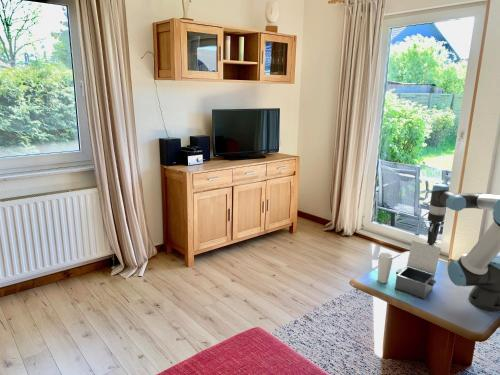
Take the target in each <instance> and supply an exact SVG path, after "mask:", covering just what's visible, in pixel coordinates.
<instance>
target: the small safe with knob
mask: <svg viewBox="0 0 500 375" xmlns="http://www.w3.org/2000/svg"><path fill="white" fill-rule="evenodd" d="M395 274H396V278H395V286H394V290H395V291H398V292H401V293H404V294H406V295H409V296H412V297H414V298H418V299H420V300H423V301H424V300H425V299H426V298H427V296H428V295H429V294H431V293H432V291H433V289H434V286H435V284H436V282H437V280H435V277H436V276H435V275H436V274H435V275H434V274H431V273H427V272H424V271H421V270H418V269H415V268H412V267H409V266H405V267H404V268H403V269H402V268H399V269H398V270H397V271H396V272H395Z"/></svg>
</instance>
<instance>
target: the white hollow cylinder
mask: <svg viewBox="0 0 500 375" xmlns="http://www.w3.org/2000/svg"><path fill="white" fill-rule="evenodd" d="M393 258H394V256H393V254H391V253H389V252H380V253H379V255H378V259H377V260H378V261H377V262H378V263H377V264H378V265H377V268H378V269H377V281H378V282H379V283H381V284H387V283H388V282H389V278H390V274H391V270H392V266H393Z"/></svg>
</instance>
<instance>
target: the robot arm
mask: <svg viewBox="0 0 500 375" xmlns="http://www.w3.org/2000/svg"><path fill="white" fill-rule="evenodd" d="M428 208H429V210H428V214H427V215H428V216H427V219H428V220H429V221H430V223H429V227H427V229H428V230H427V242H426V244H428V245H431V246H435V244H437V243H438V242H437V239H438V235H439V230H440V226H441V223H442V222H444V218H445V215H446V210H447V209H446V208H448V209H449V210H452V211H455V212H460V211H462V210H464V209H477V210H486V211H491V212H492V220H493V222H492V224H490V226H489V227H488V228H487V230H485V232H484V233H483V235H481V237H480V238H479V240H478V241H477V242H476V243H475V245H474V246H473V247H472V248H471V250H470V251H469V252H466V253H463V254H461V256H460V257H459V258H458V259H457V260H455V259H453V260H450V261H449V262H448V263H447V269H446V270H447V275H448V278H449V280H450V281H451V283H452V284H453V285H455V286H457V287H472V289H471V290H470V292H469V293H468V298H467V299H468V301H469V302H470V303H471V304H472V305H474V306H475V307H477V308H478V309H479V308H480V309H482V310H485V311H488V312H494V311H497V313H498V311H500V257H497V255H499V253H500V194H499V195H498V194H487V193H484V192H483V193H482V192H474V193H473V192H472V193H471V192H470V193H468V192H467V193H465V192H463V193H461V192H460V193H459V192H458V193H457V192H456V193H455V192H451V191H450V186H449V185H447V184H445V183H434V184H433V185H432V190H431V196H430V202H429V205H428Z"/></svg>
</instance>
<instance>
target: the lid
mask: <svg viewBox="0 0 500 375" xmlns="http://www.w3.org/2000/svg"><path fill="white" fill-rule="evenodd" d="M409 248H410V249H409V255H408V259H407V264H406V267H411V268H414V269H417V270H420V271H423V272H426V273H429V274H433V275H437V274H436V273H437V268H438V264H439V259H440V254H441V250H442V249H441V247H438V246H435V245H434V246H431V245H428V243H424V242H420V241H416V240H411V243H410V247H409Z"/></svg>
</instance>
